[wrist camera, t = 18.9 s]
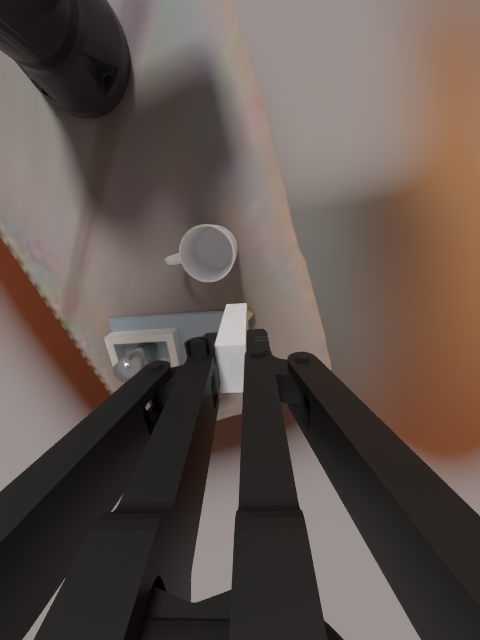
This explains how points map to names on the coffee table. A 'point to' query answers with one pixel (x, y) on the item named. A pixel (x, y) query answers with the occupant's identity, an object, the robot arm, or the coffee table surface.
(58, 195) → the coffee table surface
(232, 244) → the mug
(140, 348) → the pin
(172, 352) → the plate
